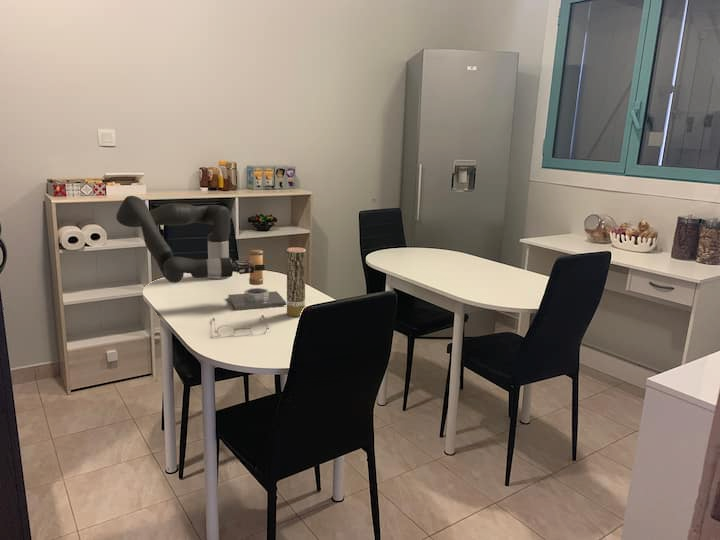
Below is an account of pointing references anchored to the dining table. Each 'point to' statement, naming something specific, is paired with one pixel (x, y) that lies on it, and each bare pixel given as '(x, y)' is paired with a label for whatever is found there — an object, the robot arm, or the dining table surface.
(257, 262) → the capped orange cylinder
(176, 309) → the dining table surface
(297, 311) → the paper tube
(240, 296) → the plate
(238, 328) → the eyeglasses
